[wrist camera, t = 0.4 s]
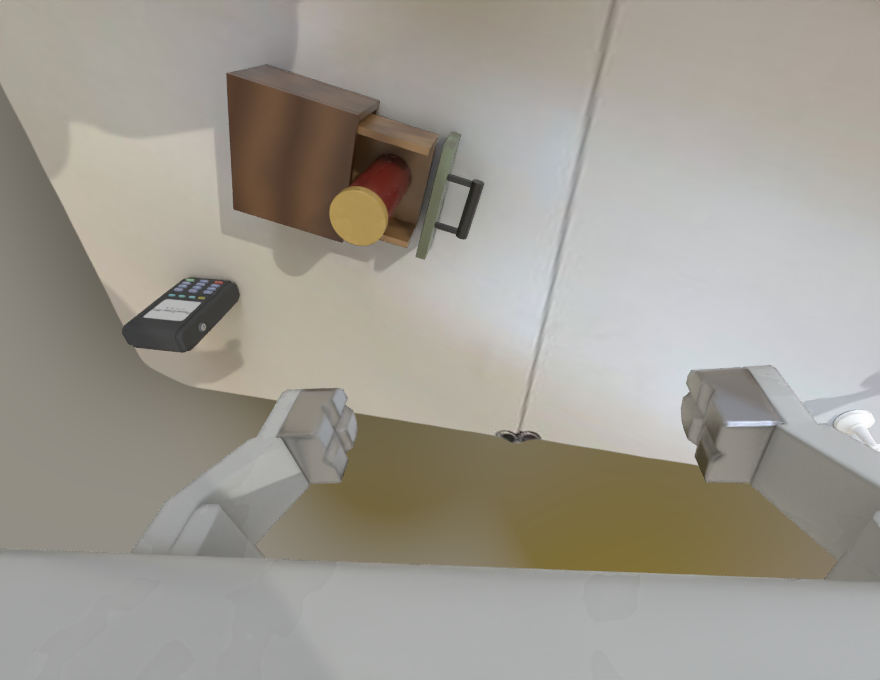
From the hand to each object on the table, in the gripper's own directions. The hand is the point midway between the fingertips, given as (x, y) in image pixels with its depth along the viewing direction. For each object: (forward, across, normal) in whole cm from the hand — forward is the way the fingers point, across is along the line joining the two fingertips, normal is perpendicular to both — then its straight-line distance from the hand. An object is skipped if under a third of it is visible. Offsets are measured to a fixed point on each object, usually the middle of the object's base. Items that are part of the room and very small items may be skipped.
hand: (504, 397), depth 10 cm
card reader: (+49, +49, +21) cm, 72 cm away
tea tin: (+46, +15, +7) cm, 49 cm away
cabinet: (+48, +24, +3) cm, 54 cm away
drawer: (+47, +12, +8) cm, 49 cm away
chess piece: (+45, -50, +54) cm, 87 cm away
